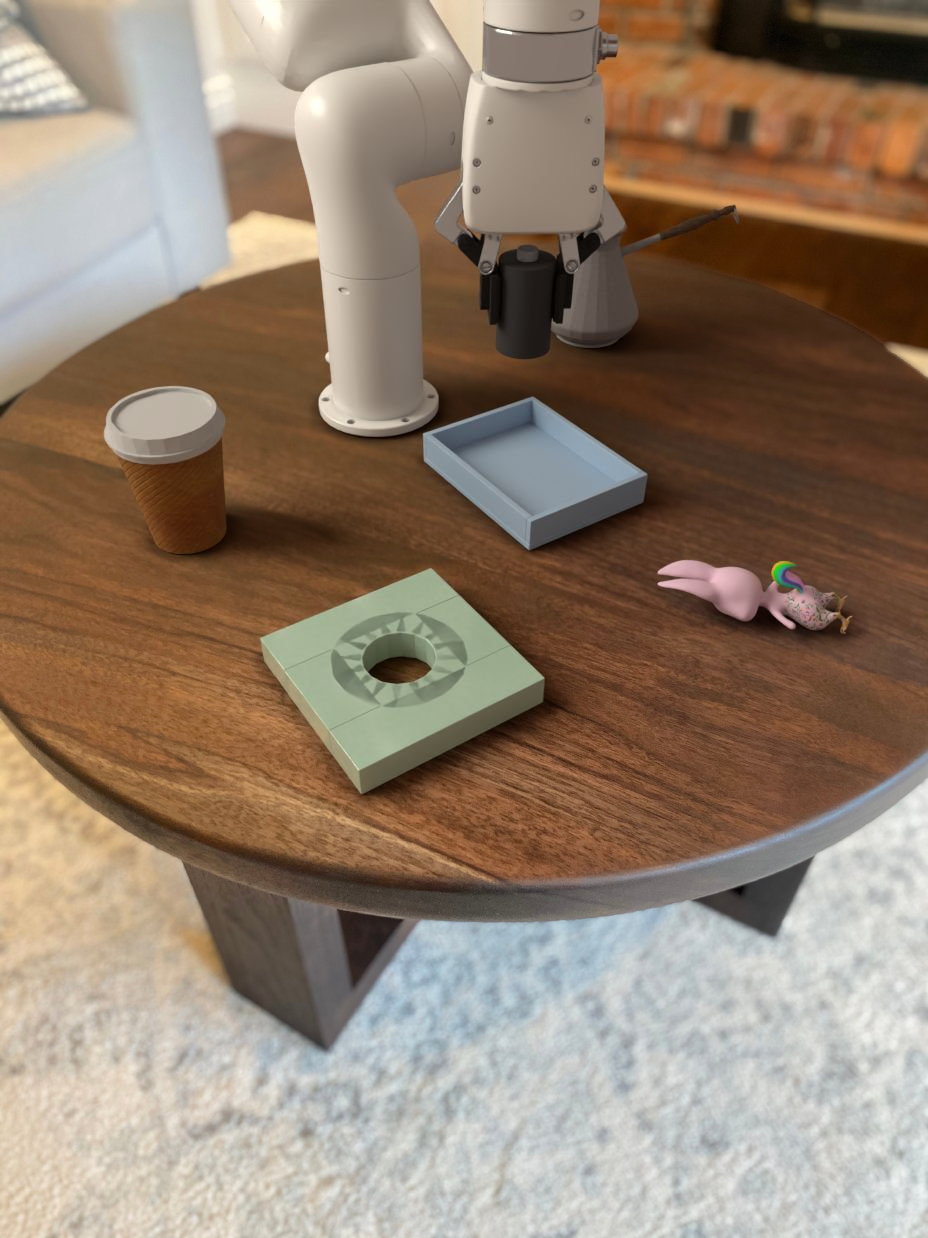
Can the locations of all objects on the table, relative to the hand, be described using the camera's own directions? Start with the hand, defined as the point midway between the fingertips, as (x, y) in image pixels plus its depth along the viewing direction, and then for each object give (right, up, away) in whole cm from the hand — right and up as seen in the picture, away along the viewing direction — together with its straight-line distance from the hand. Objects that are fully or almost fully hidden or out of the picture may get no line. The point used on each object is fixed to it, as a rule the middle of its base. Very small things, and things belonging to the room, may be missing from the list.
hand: (524, 314), depth 75 cm
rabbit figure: (+18, -24, +1) cm, 30 cm away
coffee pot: (+15, +10, +39) cm, 43 cm away
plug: (0, -2, +2) cm, 3 cm away
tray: (+2, -11, +15) cm, 18 cm away
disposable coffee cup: (-29, -17, +8) cm, 34 cm away
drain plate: (-9, -29, -5) cm, 31 cm away
